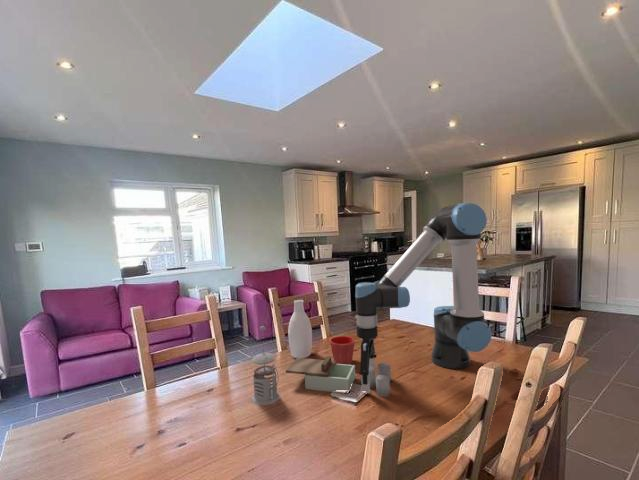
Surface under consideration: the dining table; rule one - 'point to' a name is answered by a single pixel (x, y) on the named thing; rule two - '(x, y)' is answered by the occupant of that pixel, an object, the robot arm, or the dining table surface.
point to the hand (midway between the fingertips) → (368, 383)
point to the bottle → (300, 332)
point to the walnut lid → (312, 366)
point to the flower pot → (342, 349)
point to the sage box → (332, 379)
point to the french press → (265, 379)
